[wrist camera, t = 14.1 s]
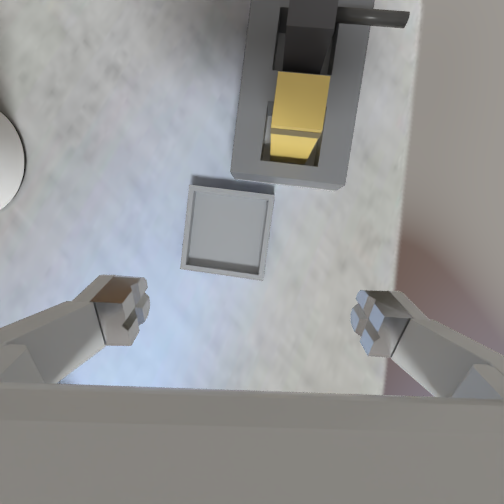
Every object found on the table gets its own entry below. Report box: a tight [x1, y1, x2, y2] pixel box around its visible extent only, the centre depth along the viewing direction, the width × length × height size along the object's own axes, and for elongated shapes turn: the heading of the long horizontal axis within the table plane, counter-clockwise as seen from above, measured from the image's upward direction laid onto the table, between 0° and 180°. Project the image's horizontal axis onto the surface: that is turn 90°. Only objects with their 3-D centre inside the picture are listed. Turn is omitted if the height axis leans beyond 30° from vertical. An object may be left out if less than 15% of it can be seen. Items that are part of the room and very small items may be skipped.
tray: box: [180, 185, 275, 281], centre depth 28 cm, size 10×10×1 cm
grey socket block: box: [230, 0, 410, 191], centre depth 23 cm, size 14×18×8 cm
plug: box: [270, 71, 330, 165], centre depth 23 cm, size 4×4×9 cm
